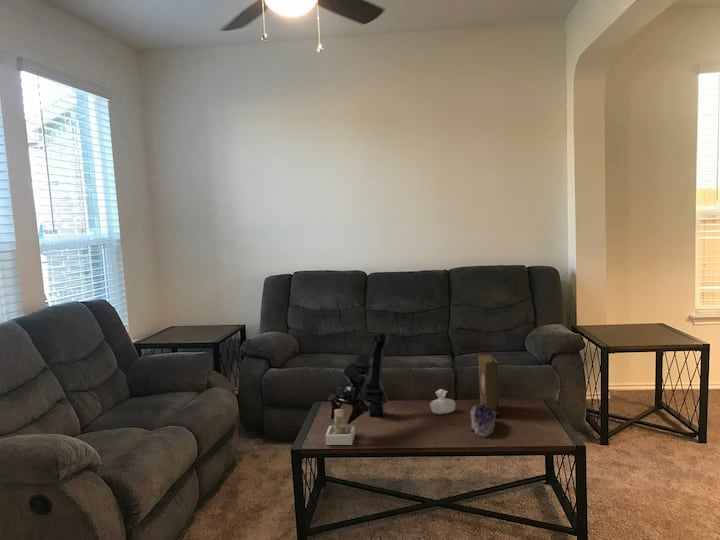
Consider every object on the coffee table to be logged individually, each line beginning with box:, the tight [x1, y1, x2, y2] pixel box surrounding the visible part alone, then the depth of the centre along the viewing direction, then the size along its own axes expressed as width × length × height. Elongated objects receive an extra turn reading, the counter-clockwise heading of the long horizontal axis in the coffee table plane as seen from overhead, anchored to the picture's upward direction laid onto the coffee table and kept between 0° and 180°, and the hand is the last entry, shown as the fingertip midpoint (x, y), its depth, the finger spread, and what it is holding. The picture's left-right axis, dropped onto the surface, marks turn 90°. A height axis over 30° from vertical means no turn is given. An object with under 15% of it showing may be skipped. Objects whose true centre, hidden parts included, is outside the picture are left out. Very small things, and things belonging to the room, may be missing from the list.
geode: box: [469, 404, 497, 439], centre depth 227 cm, size 20×12×10 cm, turn 169°
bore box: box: [325, 424, 356, 446], centre depth 223 cm, size 11×11×4 cm
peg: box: [334, 408, 346, 435], centre depth 222 cm, size 4×4×13 cm
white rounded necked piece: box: [429, 388, 456, 415], centre depth 251 cm, size 12×8×11 cm
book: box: [478, 353, 501, 417], centre depth 247 cm, size 16×6×25 cm, turn 179°
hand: (339, 421), depth 222 cm, fingers open, 9 cm apart
